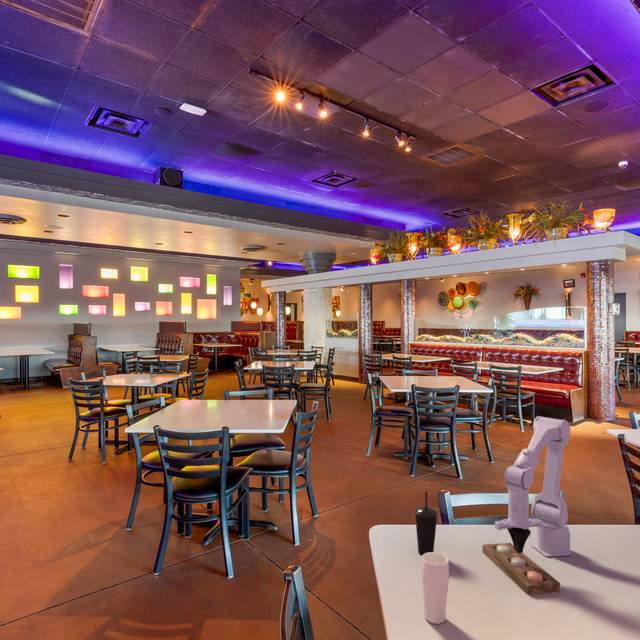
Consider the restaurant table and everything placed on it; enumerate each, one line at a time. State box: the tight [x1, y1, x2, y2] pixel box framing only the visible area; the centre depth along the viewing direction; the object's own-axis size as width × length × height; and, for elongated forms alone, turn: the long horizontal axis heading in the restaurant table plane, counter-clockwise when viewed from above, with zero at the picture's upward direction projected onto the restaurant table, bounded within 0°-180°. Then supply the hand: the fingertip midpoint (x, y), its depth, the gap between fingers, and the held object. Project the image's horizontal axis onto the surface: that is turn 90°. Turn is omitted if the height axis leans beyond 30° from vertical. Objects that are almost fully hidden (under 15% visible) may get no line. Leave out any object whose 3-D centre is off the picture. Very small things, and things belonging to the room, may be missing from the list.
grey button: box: [511, 557, 525, 567], centre depth 136 cm, size 4×4×3 cm
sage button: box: [497, 545, 510, 554], centre depth 144 cm, size 4×4×3 cm
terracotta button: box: [527, 571, 543, 582], centre depth 128 cm, size 4×4×3 cm
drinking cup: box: [413, 490, 439, 557], centre depth 146 cm, size 8×8×20 cm
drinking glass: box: [421, 551, 450, 625], centre depth 113 cm, size 7×7×15 cm
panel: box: [482, 542, 561, 596], centre depth 136 cm, size 10×24×2 cm, turn 9°
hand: (518, 551), depth 136 cm, fingers closed
